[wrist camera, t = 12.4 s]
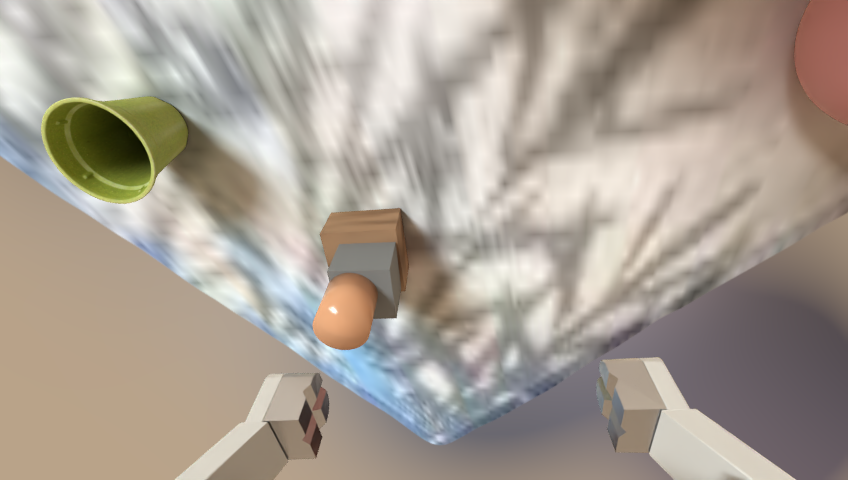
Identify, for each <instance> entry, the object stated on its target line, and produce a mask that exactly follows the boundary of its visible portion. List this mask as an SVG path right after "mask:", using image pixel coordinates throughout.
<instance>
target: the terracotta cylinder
mask: <svg viewBox="0 0 848 480" xmlns="http://www.w3.org/2000/svg"><path fill="white" fill-rule="evenodd" d="M377 299H378V292H377V289H376V287H375V285H374V284H373V283H372V282H371V281H370V280H369V279H368V278H366V277H364V276H362V275H360V274H356V273H343V274H339V275H337V276H335V277H334V278H333V279H332V280H331V281H330V282H329V284H328V286H327V289H326V291H325V294H324V296H323V299H322V301H321V304H320V306H319V308H318V311H317V313H316V316H315V318H314V321H313V330H314V333H315V335H316V336H317V338H318V339H319V340H320V341H322V342H323V343H324V344H326V345H328V346H330V347H332V348H335V349H340V350H350V349H355V348H358V347H360V346H362V345H363V344H364V343H365V342H366V341H367V340H368V337H369V334H370V330H371V325H372V321H373V316H374V312H375V308H376V303H377Z"/></svg>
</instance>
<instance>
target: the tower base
mask: <svg viewBox="0 0 848 480" xmlns="http://www.w3.org/2000/svg"><path fill="white" fill-rule="evenodd" d="M320 237H321V240H322V244H323V248H324V252H325V255H326V259H327V263H328V267H329V266H330V264H331V262H332V259H333V257H334V255H335V252H336V250H337V248H338V246H339V244H353V243H382V242H396V250H397V258H398V265H399V273H400V281H401V291H405V289H406V283H407V276H408V269H409V264H408V257H407V251H406V244H405V237H404V230H403V223H402V216H401V209H400V208H396V209H381V210H366V211H351V212H336V213H331V214H330V216H329V218H328V220H327V222H326V224H325V225H324V227H323V229H322V231H321V233H320Z"/></svg>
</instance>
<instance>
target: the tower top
mask: <svg viewBox="0 0 848 480" xmlns="http://www.w3.org/2000/svg"><path fill="white" fill-rule="evenodd" d="M327 273H328V277H329V281H331V280H332V279H333V278H334V277H335V276H337V275H339V274H343V273H356V274H360V275H362V276H364V277H366V278H368V279H369V280H370V281H371V282H372V283H373V284H374V285H375V287H376V289H377V292H378V299H377V303H376V308H375V312H374V316H373V319H381V318H397V311H398V305H399V299H400V293H401V281H400V273H399V265H398V258H397V250H396V242H382V243H353V244H339V246H338V248H337V250H336V252H335V255H334V257H333V259H332V262H331V264H330V266H329V268H328V271H327Z"/></svg>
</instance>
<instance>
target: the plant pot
mask: <svg viewBox="0 0 848 480" xmlns="http://www.w3.org/2000/svg"><path fill="white" fill-rule="evenodd" d="M41 133H42V139H43V143H44V146H45V148H46V151H47V153H48V155H49V157H50V158H51V160H52V162H53V163H54V164H55V165H56V167H57V168H58V170H59V171H60V172H61V173H62V174H63V175H64V176H65V177H66V178H67V179H68V180H69V181H70V182H71V183H72V184H74V185H75V186H77V187H78V188H79V189H81V190H82V191H84V192H85V193H87V194H89V195H91V196H93V197H95V198H97V199H100V200H103V201H106V202H111V203H118V204H126V203H132V202H135V201H138V200H140V199H142V198H143V197H144V196H146V195H147V194H148V193H149V192H150V190H151V189H152V187H153V185H154V183H155V180H156V177H157V175H158V174H159V173H160V172H161V171H162V170H163V169H164V168H165V167H166V166H167V165H168V164H169V163H170V162H171V161H172V160H173V159H174V158H175V157H176V156H177V155H178V154H179V153H180V152H181V151H183V150H184V148H185V147H186V143H187V138H188V129H187V126H186V123H185V121H184V119H183V117H182V116H181V115H180V113H179V112H178V111H177V110H176V109H175V108H174V107H173V106H172V105H170V104H168V103H166V102H164V101H162V100H159V99H157V98H155V97H138V98H131V99H123V100H114V101H105V102H102V101H95V100H92V99H87V98H67V99H63V100H60V101H58V102H56V103H54V104H53V105H51V106H50V107H49V108H48V110H47V111H46V112H45V114H44V116H43V120H42V126H41Z"/></svg>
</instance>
